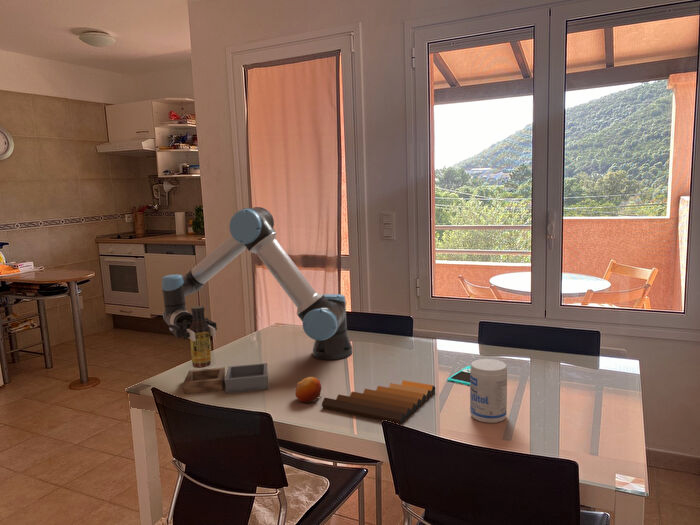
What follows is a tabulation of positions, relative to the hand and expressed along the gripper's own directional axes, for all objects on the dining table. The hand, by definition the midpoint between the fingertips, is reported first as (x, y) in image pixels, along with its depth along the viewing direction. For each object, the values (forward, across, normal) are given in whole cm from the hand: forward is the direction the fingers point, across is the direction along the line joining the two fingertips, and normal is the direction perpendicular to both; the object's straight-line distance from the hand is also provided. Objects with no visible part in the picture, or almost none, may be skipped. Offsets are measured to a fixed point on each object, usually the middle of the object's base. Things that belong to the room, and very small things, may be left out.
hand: (204, 334), depth 170 cm
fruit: (+28, -21, -19) cm, 40 cm away
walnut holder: (-5, 0, -18) cm, 19 cm away
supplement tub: (+70, -54, -20) cm, 90 cm away
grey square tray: (+4, -12, -18) cm, 22 cm away
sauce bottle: (-5, 0, -12) cm, 13 cm away
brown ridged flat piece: (+42, -38, -20) cm, 60 cm away
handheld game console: (+46, -72, -20) cm, 88 cm away
